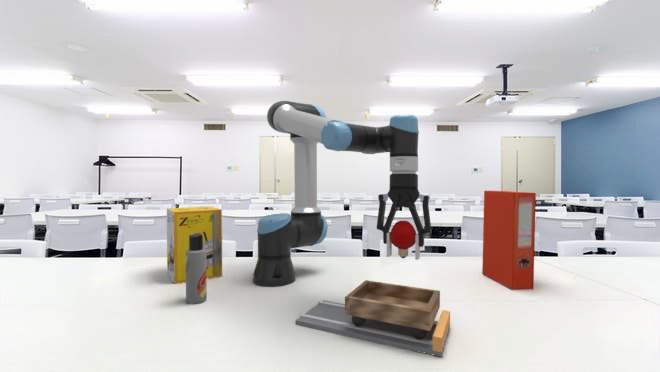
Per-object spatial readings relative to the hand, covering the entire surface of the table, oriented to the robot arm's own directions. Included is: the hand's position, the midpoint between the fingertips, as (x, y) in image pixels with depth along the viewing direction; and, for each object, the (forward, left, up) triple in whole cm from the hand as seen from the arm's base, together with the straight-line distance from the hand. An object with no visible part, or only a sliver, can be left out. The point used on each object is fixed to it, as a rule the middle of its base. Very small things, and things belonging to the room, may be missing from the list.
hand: (403, 256), depth 91 cm
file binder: (+27, +43, -15) cm, 53 cm away
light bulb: (0, 0, 0) cm, 0 cm away
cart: (+1, -12, -13) cm, 18 cm away
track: (-5, -12, -15) cm, 20 cm away
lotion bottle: (-57, -19, -15) cm, 62 cm away
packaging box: (-79, 0, -15) cm, 81 cm away
